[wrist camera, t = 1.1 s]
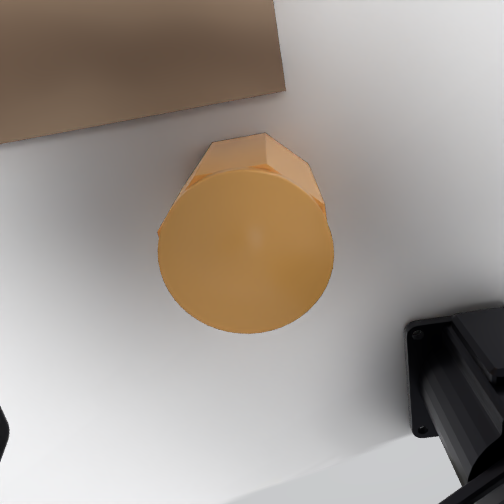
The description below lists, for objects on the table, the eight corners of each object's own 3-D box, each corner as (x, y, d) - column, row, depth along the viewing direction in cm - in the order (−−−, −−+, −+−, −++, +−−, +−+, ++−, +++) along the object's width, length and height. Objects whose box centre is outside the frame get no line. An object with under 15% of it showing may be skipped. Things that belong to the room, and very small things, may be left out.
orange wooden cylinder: (320, 246, 20) (342, 321, 14) (202, 264, 20) (180, 343, 15) (304, 124, 18) (322, 156, 12) (174, 147, 18) (136, 188, 13)
